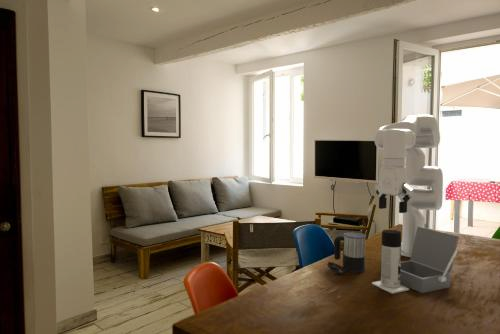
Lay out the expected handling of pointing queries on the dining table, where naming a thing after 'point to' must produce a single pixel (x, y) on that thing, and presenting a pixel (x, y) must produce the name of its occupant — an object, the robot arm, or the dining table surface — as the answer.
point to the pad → (391, 290)
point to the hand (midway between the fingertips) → (392, 210)
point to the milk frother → (349, 253)
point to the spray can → (391, 258)
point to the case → (429, 261)
